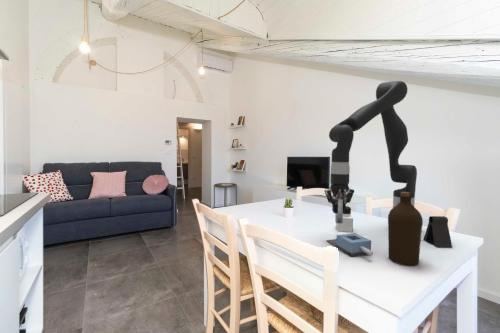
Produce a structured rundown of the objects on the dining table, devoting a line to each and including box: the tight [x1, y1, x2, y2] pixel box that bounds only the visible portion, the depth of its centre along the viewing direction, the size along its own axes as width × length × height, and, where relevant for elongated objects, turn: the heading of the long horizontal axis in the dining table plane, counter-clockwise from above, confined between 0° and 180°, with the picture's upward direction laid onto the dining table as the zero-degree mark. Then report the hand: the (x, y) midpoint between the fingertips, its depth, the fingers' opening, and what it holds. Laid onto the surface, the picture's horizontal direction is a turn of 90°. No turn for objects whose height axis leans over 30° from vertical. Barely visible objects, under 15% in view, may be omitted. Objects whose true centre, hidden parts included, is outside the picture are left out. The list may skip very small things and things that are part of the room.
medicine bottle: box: [335, 205, 354, 233], centre depth 126 cm, size 7×7×12 cm
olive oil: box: [387, 192, 424, 267], centre depth 89 cm, size 11×11×25 cm
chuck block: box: [336, 232, 374, 258], centre depth 95 cm, size 9×14×6 cm, turn 16°
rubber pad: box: [326, 238, 337, 248], centre depth 106 cm, size 7×7×1 cm
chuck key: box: [334, 193, 344, 224], centre depth 106 cm, size 5×3×13 cm, turn 16°
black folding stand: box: [422, 215, 453, 249], centre depth 106 cm, size 9×6×12 cm, turn 177°
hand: (338, 212), depth 106 cm, fingers closed on chuck key, 3 cm apart
